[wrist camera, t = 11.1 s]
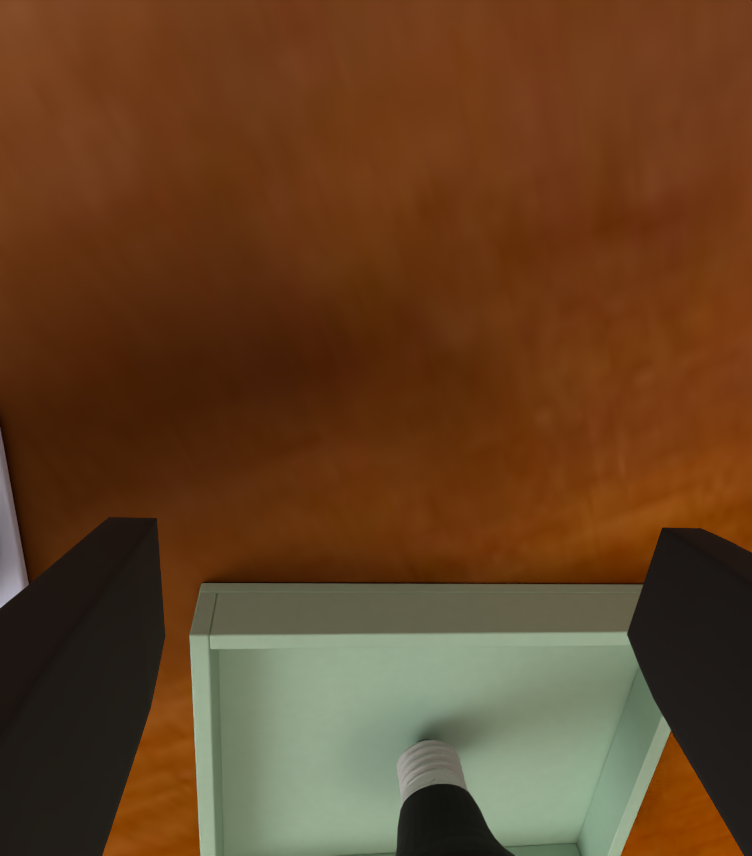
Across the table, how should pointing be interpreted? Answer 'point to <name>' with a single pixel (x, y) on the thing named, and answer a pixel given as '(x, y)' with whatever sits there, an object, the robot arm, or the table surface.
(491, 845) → the light bulb
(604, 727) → the tray
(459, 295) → the table surface
